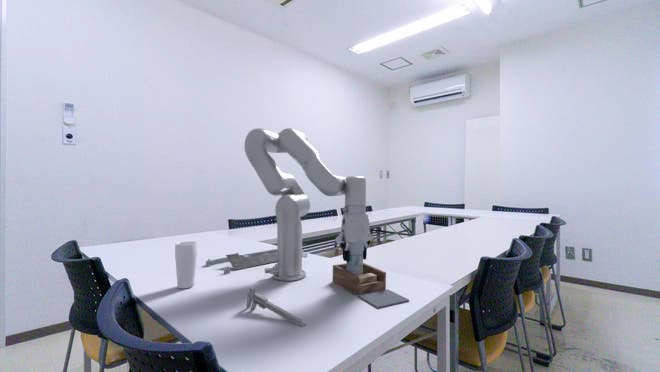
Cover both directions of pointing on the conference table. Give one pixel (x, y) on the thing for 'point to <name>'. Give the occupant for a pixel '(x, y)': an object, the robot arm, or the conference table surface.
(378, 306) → the mat
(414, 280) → the conference table surface
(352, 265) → the bottle
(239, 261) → the paper cutter
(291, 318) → the caliper
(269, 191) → the robot arm
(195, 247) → the drinking glass
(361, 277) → the offcut upper
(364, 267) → the open wooden box
